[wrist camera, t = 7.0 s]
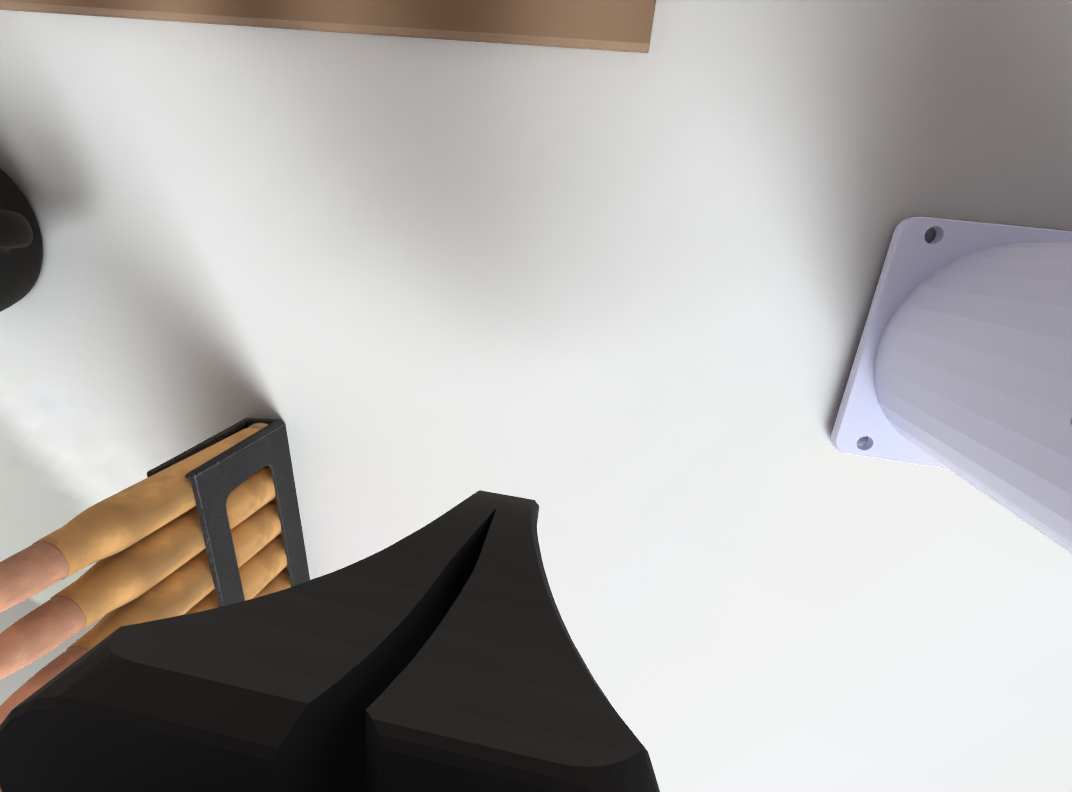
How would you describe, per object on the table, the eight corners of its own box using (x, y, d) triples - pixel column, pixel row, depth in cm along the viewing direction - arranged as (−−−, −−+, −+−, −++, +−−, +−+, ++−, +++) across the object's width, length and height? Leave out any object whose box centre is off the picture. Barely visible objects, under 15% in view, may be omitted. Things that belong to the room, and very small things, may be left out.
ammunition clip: (246, 417, 22) (-140, 597, 11) (284, 419, 22) (-70, 606, 11) (282, 618, 25) (11, 919, 14) (317, 622, 25) (67, 933, 14)
